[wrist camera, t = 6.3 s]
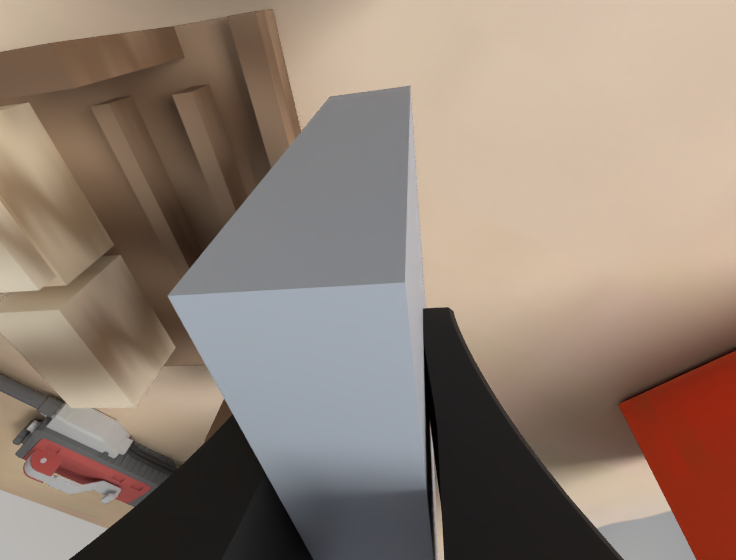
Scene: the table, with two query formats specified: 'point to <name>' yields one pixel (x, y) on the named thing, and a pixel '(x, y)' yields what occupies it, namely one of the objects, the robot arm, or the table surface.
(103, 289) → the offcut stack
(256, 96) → the walnut rack
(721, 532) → the file binder
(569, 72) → the table surface
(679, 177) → the table surface
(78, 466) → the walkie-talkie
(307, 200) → the grey rectangular slab
